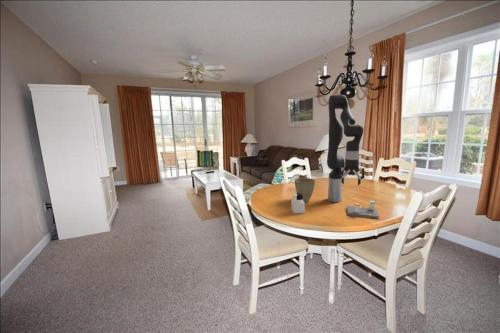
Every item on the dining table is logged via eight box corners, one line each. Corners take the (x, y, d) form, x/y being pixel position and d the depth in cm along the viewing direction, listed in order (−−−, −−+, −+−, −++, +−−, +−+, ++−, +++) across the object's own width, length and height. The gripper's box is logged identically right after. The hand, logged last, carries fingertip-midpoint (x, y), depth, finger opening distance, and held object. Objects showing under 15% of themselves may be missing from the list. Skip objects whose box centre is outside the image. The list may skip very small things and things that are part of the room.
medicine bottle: (301, 209, 144) (302, 192, 142) (304, 213, 137) (305, 195, 135) (291, 209, 144) (291, 192, 142) (293, 213, 137) (293, 195, 135)
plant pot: (315, 204, 152) (316, 182, 150) (294, 203, 155) (294, 182, 153) (313, 197, 167) (314, 177, 164) (294, 197, 170) (294, 177, 167)
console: (347, 215, 132) (348, 212, 132) (347, 208, 144) (347, 205, 144) (378, 218, 126) (378, 216, 126) (375, 210, 138) (375, 208, 137)
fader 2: (369, 209, 135) (370, 202, 134) (369, 208, 137) (369, 200, 137) (374, 210, 134) (374, 202, 133) (373, 208, 136) (374, 201, 136)
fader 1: (354, 212, 132) (355, 204, 131) (354, 210, 134) (354, 202, 134) (359, 212, 131) (359, 204, 130) (358, 210, 133) (359, 203, 133)
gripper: (339, 158, 129) (338, 185, 131) (366, 159, 123) (364, 186, 126) (339, 157, 136) (338, 182, 138) (364, 157, 130) (363, 183, 133)
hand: (350, 184), depth 132 cm, fingers open, 8 cm apart
